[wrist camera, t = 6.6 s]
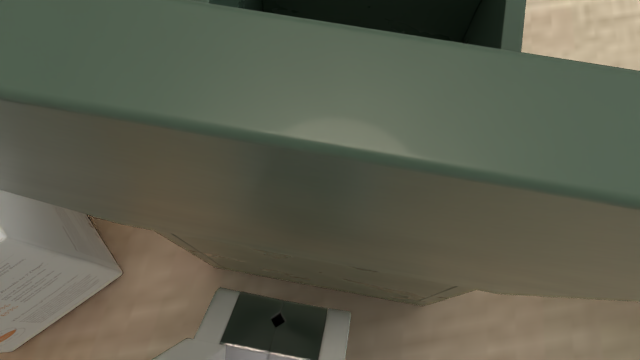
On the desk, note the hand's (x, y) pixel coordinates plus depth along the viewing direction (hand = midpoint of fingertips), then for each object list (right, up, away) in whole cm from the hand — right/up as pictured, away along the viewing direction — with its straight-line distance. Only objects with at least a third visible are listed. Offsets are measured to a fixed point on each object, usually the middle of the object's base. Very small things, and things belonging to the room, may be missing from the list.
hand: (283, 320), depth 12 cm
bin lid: (0, +3, -1) cm, 3 cm away
